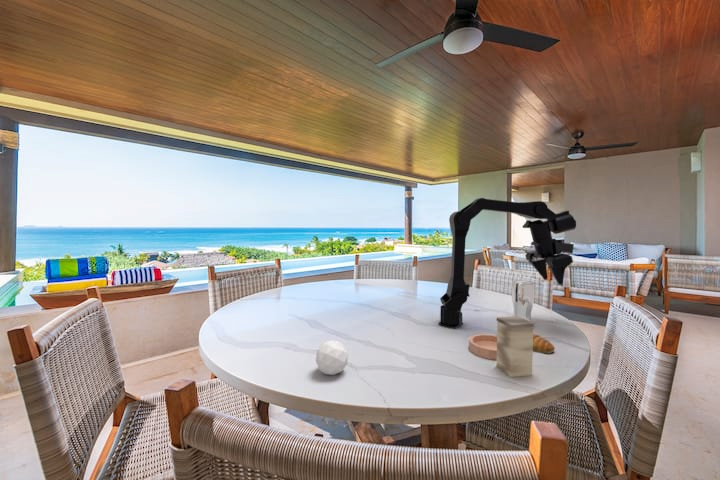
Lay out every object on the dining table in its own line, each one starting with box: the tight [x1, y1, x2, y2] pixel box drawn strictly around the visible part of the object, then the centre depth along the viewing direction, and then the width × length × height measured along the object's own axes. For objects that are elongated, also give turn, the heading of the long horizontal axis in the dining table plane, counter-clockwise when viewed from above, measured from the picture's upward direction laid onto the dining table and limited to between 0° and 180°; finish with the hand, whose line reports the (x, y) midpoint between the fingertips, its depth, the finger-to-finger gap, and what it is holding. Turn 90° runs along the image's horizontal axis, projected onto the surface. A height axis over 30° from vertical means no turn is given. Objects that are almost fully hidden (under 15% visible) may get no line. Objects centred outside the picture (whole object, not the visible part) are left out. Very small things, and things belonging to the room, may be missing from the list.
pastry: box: [533, 333, 556, 355], centre depth 87 cm, size 9×7×4 cm
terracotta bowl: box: [468, 333, 497, 361], centre depth 85 cm, size 12×12×2 cm
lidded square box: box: [496, 315, 535, 378], centre depth 74 cm, size 6×6×12 cm
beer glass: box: [511, 280, 535, 323], centre depth 106 cm, size 7×7×15 cm
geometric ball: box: [315, 339, 349, 376], centre depth 74 cm, size 8×8×8 cm
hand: (553, 281), depth 104 cm, fingers open, 9 cm apart
